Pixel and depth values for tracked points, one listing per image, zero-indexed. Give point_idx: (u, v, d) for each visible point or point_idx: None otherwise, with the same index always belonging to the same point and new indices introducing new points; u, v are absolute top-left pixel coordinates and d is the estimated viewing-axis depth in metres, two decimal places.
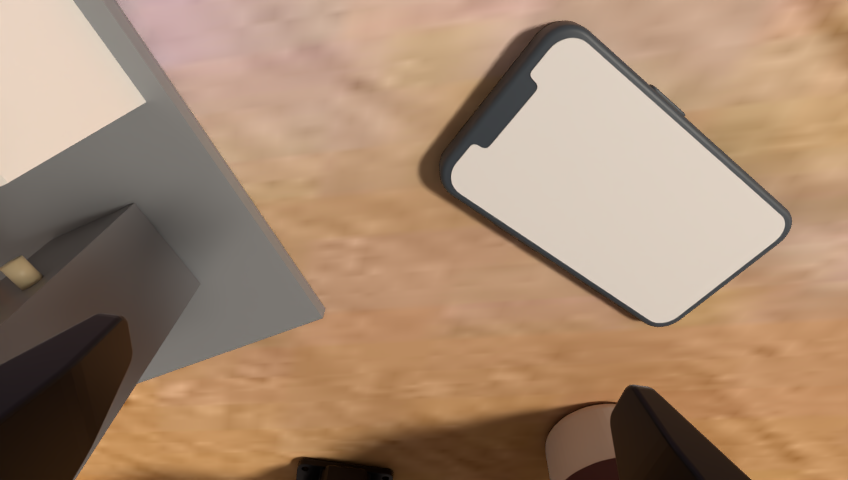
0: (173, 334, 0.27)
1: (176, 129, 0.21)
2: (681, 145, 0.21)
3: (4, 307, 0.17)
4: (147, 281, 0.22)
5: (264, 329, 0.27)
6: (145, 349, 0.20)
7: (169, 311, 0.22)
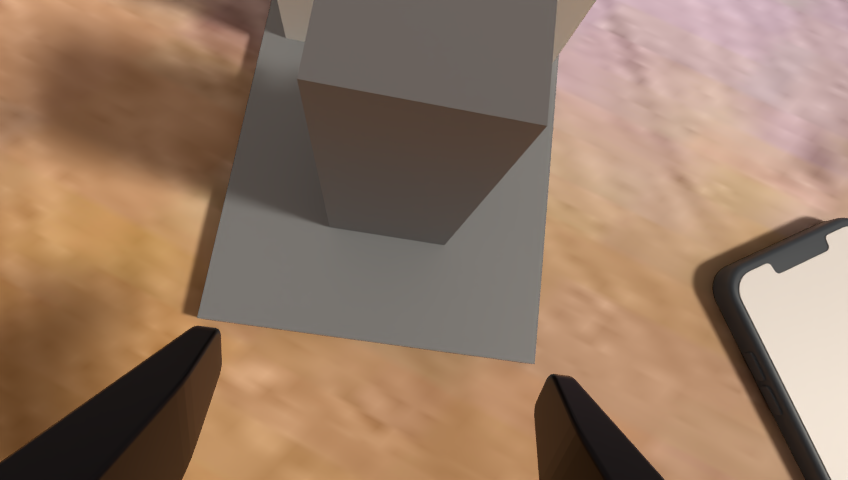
0: (355, 284, 0.21)
1: None
2: None
3: None
4: None
5: (461, 339, 0.21)
6: None
7: None
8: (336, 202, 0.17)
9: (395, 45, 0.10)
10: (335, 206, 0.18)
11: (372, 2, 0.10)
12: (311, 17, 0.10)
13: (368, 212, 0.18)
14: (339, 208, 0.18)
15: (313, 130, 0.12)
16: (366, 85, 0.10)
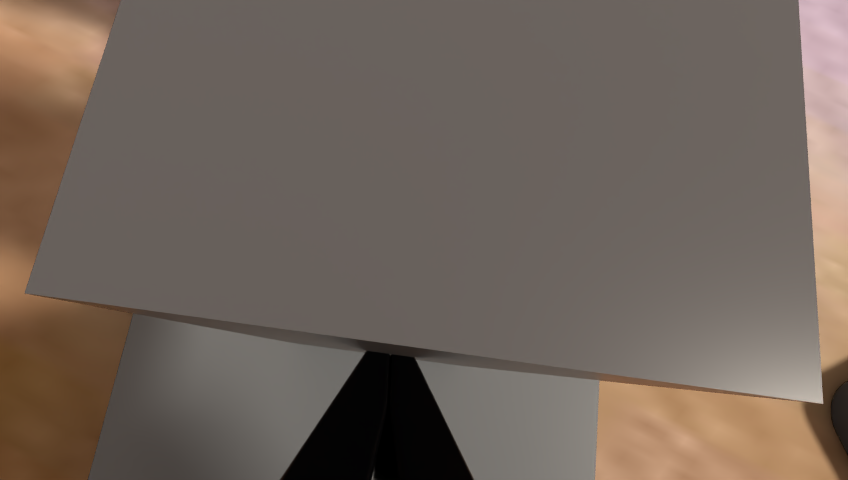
0: None
1: None
2: None
3: None
4: None
5: None
6: None
7: None
8: (288, 341, 0.11)
9: (364, 163, 0.03)
10: (289, 341, 0.11)
11: (296, 31, 0.03)
12: (99, 78, 0.03)
13: None
14: (296, 342, 0.11)
15: (182, 321, 0.05)
16: (265, 305, 0.03)
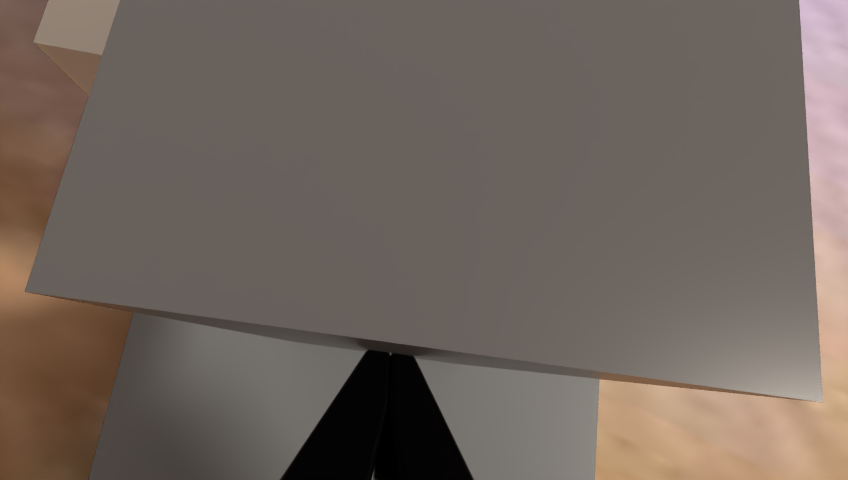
0: None
1: None
2: None
3: None
4: None
5: None
6: None
7: None
8: None
9: (364, 162, 0.03)
10: (289, 340, 0.11)
11: (298, 29, 0.03)
12: (100, 76, 0.03)
13: (342, 347, 0.11)
14: (296, 341, 0.11)
15: (182, 320, 0.05)
16: (264, 303, 0.03)
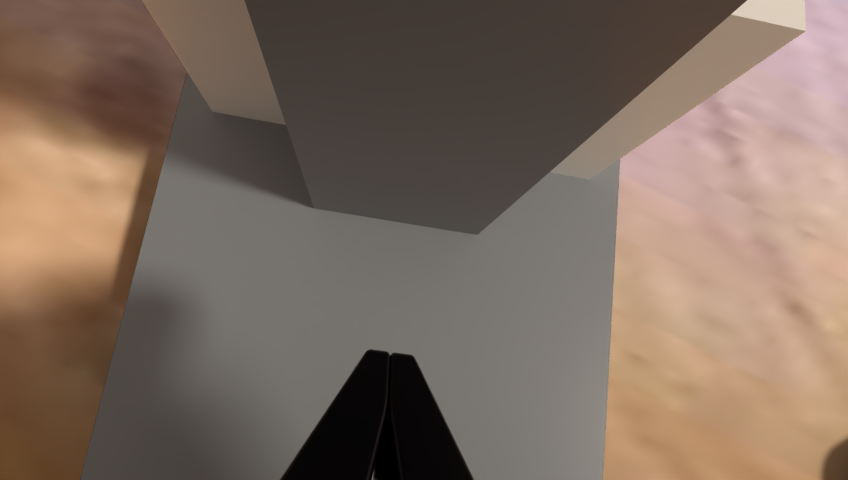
0: None
1: (598, 223, 0.16)
2: None
3: None
4: None
5: None
6: None
7: None
8: (318, 165, 0.11)
9: None
10: (317, 172, 0.11)
11: None
12: None
13: (369, 183, 0.12)
14: (324, 176, 0.12)
15: None
16: None
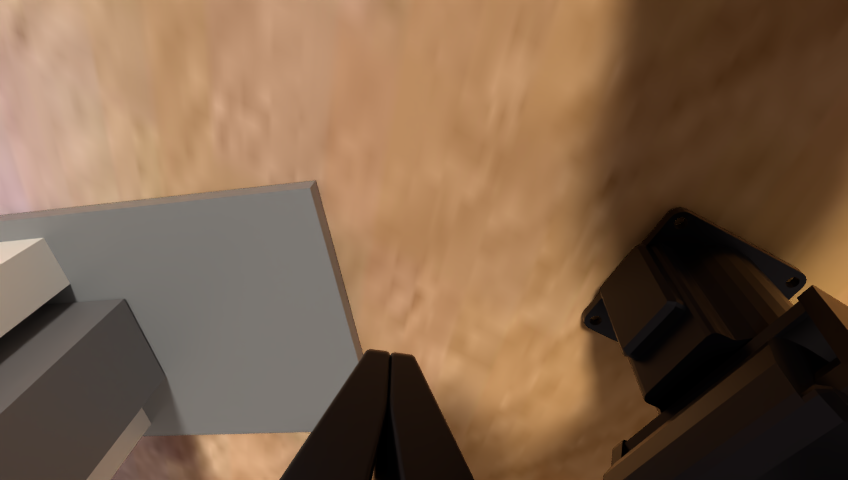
0: (309, 345, 0.24)
1: (67, 227, 0.22)
2: None
3: None
4: (42, 336, 0.22)
5: (316, 258, 0.21)
6: (28, 378, 0.19)
7: (70, 338, 0.21)
8: (112, 432, 0.22)
9: None
10: (121, 423, 0.23)
11: None
12: None
13: (111, 403, 0.22)
14: (122, 418, 0.23)
15: None
16: None
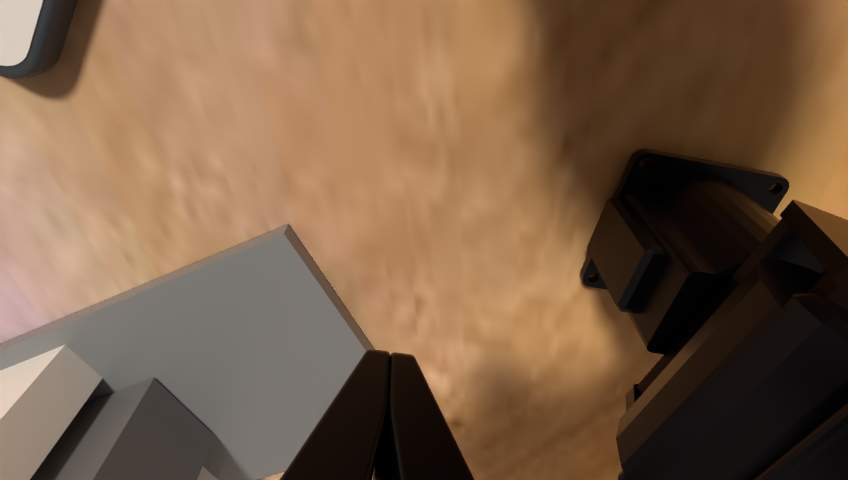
0: (333, 373, 0.25)
1: (81, 329, 0.23)
2: None
3: None
4: (90, 433, 0.23)
5: (312, 295, 0.22)
6: (86, 477, 0.21)
7: (115, 429, 0.23)
8: None
9: None
10: None
11: None
12: None
13: (170, 475, 0.24)
14: None
15: None
16: None
